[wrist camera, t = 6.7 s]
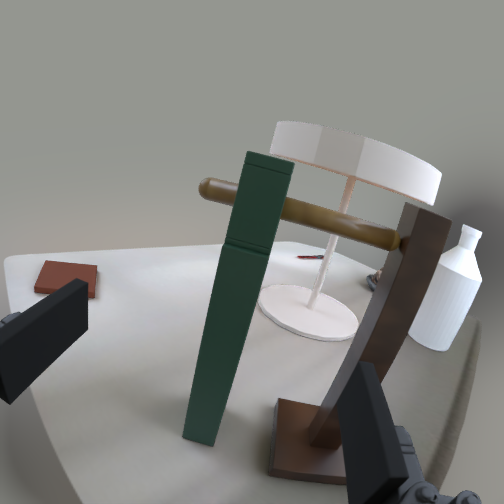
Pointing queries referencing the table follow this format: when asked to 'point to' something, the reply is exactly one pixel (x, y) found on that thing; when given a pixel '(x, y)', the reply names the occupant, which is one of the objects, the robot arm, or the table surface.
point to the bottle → (448, 294)
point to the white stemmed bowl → (355, 168)
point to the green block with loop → (236, 290)
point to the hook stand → (370, 330)
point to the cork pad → (65, 276)
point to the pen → (311, 256)
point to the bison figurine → (374, 279)
